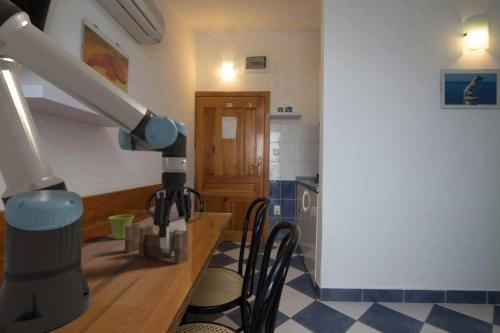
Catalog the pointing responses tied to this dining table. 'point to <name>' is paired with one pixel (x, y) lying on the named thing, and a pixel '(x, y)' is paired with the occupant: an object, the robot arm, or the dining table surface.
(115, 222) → the plant pot
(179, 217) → the bracket plate
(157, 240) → the brown long notched block
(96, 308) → the dining table surface
